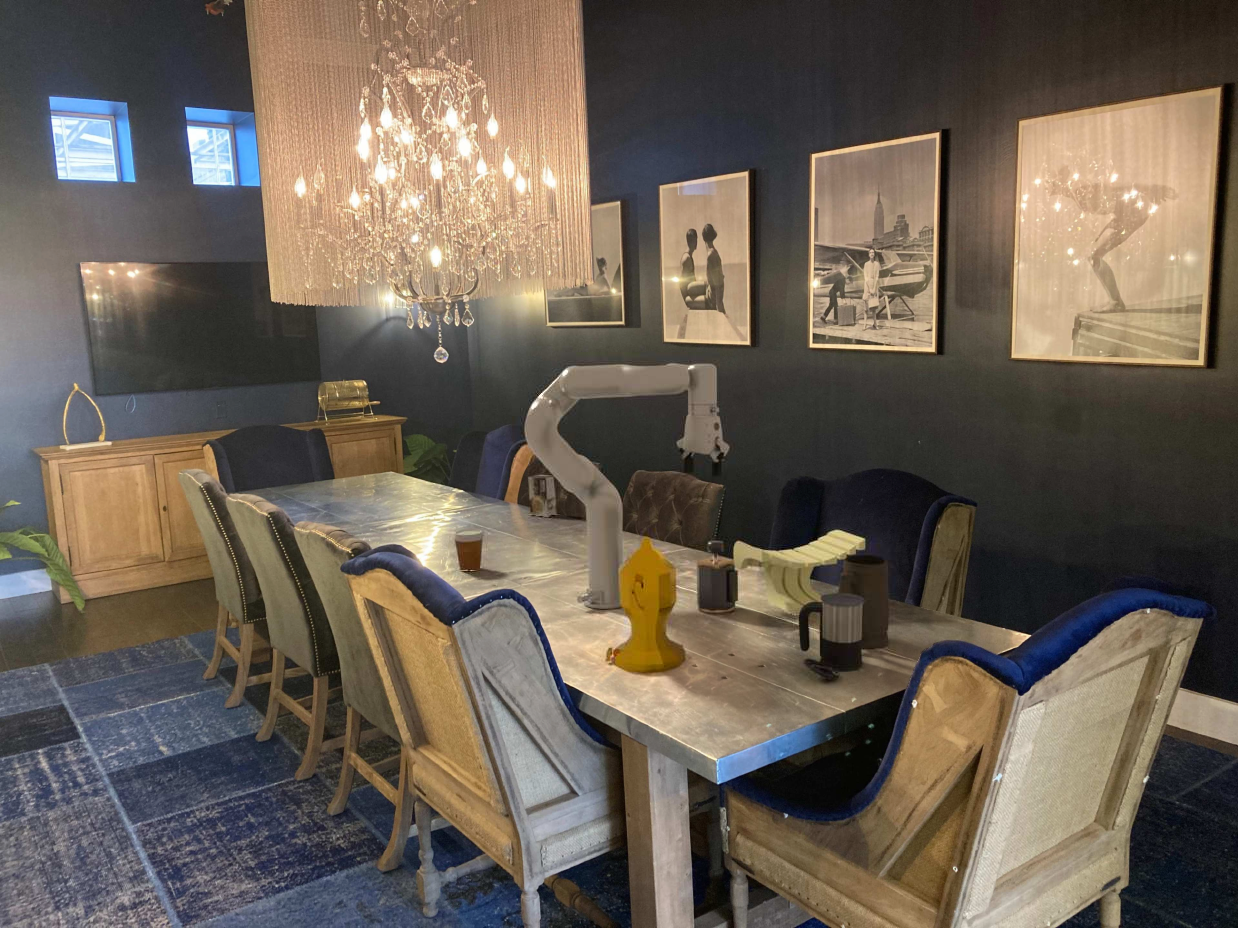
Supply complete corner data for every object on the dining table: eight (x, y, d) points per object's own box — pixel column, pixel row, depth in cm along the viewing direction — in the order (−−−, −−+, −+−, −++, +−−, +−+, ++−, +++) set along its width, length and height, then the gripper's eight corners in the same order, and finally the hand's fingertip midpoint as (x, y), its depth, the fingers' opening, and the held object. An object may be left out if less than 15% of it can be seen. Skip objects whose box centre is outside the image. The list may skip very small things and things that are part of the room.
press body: (724, 617, 244) (724, 567, 242) (690, 609, 252) (689, 561, 250) (746, 608, 251) (745, 560, 250) (712, 601, 259) (711, 554, 257)
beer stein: (855, 630, 231) (852, 550, 227) (897, 638, 224) (896, 555, 220) (825, 651, 220) (822, 568, 216) (869, 660, 213) (867, 574, 209)
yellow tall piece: (598, 678, 204) (594, 549, 200) (616, 641, 228) (612, 525, 224) (680, 680, 202) (678, 550, 198) (689, 642, 226) (687, 525, 222)
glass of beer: (448, 571, 299) (446, 533, 298) (467, 564, 308) (465, 528, 306) (473, 574, 295) (471, 536, 293) (491, 567, 303) (489, 530, 302)
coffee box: (557, 514, 387) (555, 475, 384) (547, 517, 381) (546, 477, 379) (539, 513, 391) (537, 474, 389) (529, 515, 386) (527, 476, 384)
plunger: (718, 604, 247) (718, 546, 245) (699, 600, 251) (698, 542, 249) (733, 598, 252) (732, 541, 250) (713, 594, 256) (712, 538, 254)
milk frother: (857, 656, 213) (858, 591, 211) (877, 682, 198) (877, 612, 195) (793, 658, 213) (793, 593, 211) (808, 684, 198) (808, 614, 195)
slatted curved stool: (831, 590, 266) (831, 527, 264) (864, 605, 251) (865, 538, 249) (734, 603, 256) (733, 538, 254) (762, 619, 241) (762, 550, 239)
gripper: (737, 411, 251) (737, 476, 253) (687, 408, 263) (687, 470, 265) (718, 413, 245) (718, 479, 248) (668, 410, 258) (669, 473, 260)
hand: (702, 474), depth 257 cm, fingers open, 9 cm apart
